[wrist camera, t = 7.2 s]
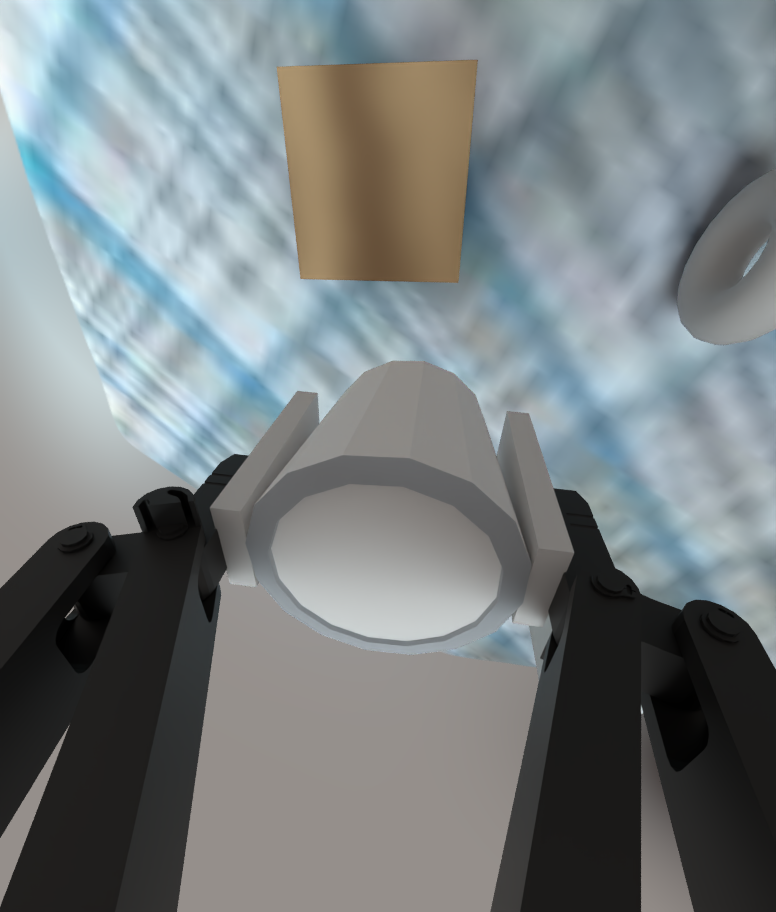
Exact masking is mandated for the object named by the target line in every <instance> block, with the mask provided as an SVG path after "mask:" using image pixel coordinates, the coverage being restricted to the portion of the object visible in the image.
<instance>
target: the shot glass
mask: <svg viewBox="0 0 776 912" xmlns="http://www.w3.org/2000/svg"><path fill="white" fill-rule="evenodd" d="M245 544H246V547H247V550H248V553H249V556H250V559H251V562H252V566H253V569H254V572H255V575H256V578H257V580H258V581H259V583H260V584H261V585H262V586H263V587H264V588H265V589H266V591H267V592H268V593H269V594H270V595H271V596H272V598H273V599H274V600H275V601H276V602H277V603H278V605H279V606H280V607H281V608H282V609H283V610H284V611H285V612H286V613H288V614H290V615H291V616H293V617H294V618H296V619H297V620H299V621H301V622H302V623H304V624H305V625H307V626H309V627H310V628H311V629H313V630H315V631H316V632H318V633H319V634H321V635H323V636H327V637H329V638H332V639H335V640H338V641H341V642H344V643H347V644H350V645H353V646H356V647H359V648H362V649H364V650H372V651H382V652H391V653H400V654H409V655H413V654H421V653H429V652H437V651H445V650H453V649H458V648H460V647H462V646H464V645H467V644H469V643H471V642H474V641H476V640H478V639H480V638H483V637H485V636H487V635H489V634H492V633H494V632H496V631H497V630H498V629H499V628H500V627H501V626H502V625H503V624H504V623H505V621H506V620H507V619H508V618H509V617H510V616H511V615H512V614H513V613H514V612H515V611H516V610H517V609H518V608H519V607H520V606H521V605H522V604H523V601H524V597H525V592H526V588H527V584H528V579H529V575H530V570H531V566H532V564H531V561H530V558H529V554H528V551H527V548H526V545H525V542H524V539H523V536H522V533H521V530H520V527H519V524H518V521H517V518H516V515H515V512H514V509H513V505H512V502H511V499H510V496H509V493H508V490H507V487H506V484H505V481H504V478H503V475H502V472H501V469H500V466H499V463H498V460H497V456H496V453H495V450H494V447H493V444H492V441H491V438H490V435H489V432H488V429H487V426H486V423H485V420H484V417H483V414H482V412H481V409H480V406H479V404H478V401H477V398H476V395H475V394H474V393H473V392H472V391H471V390H470V389H469V388H468V387H467V386H466V385H465V384H464V383H463V382H462V381H461V380H460V379H459V378H458V377H457V376H456V375H455V374H454V373H452V372H449V371H447V370H444V369H442V368H440V367H437V366H435V365H432V364H430V363H427V362H425V361H391V362H389V363H386V364H383V365H381V366H378V367H376V368H373V369H371V370H368V371H366V372H364V373H363V374H362V375H361V376H360V377H359V378H358V379H357V380H356V381H355V382H354V383H353V384H352V385H351V386H350V387H349V388H348V389H347V390H346V391H345V393H344V394H343V395H342V396H341V397H340V399H339V400H338V401H337V402H336V404H335V405H334V406H333V407H332V409H331V410H330V411H329V412H328V414H327V415H326V416H325V417H324V419H323V420H322V421H321V422H320V424H319V425H318V426H317V427H316V429H315V430H314V431H313V432H312V434H311V435H310V436H309V437H308V439H307V440H306V441H305V442H304V444H303V445H302V446H301V447H300V449H299V450H298V451H297V452H296V454H295V455H294V456H293V457H292V459H291V460H290V461H289V462H288V464H287V465H286V466H285V467H284V469H283V470H282V471H281V472H280V474H279V475H278V476H277V477H276V479H275V480H274V481H273V482H272V484H271V485H270V486H269V487H268V489H267V490H266V491H265V492H264V494H263V495H262V496H261V497H260V498H259V500H258V501H257V502H256V503H255V505H254V508H253V512H252V517H251V521H250V525H249V529H248V533H247V538H246V542H245Z"/></svg>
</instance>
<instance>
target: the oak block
mask: <svg viewBox="0 0 776 912" xmlns="http://www.w3.org/2000/svg"><path fill="white" fill-rule="evenodd" d="M477 62H478V60H456V61H428V62H400V63H372V64H344V65H316V66H288V67H277V73H278V82H279V91H280V100H281V109H282V118H283V127H284V136H285V144H286V153H287V162H288V171H289V180H290V189H291V198H292V207H293V215H294V224H295V233H296V242H297V251H298V260H299V269H300V278H301V279H324V280H367V281H409V282H451V283H458V281H459V269H460V258H461V246H462V235H463V223H464V212H465V200H466V189H467V177H468V166H469V154H470V143H471V131H472V120H473V108H474V97H475V85H476V74H477Z"/></svg>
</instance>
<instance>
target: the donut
mask: <svg viewBox="0 0 776 912" xmlns="http://www.w3.org/2000/svg"><path fill="white" fill-rule="evenodd" d="M766 241H768V242H767V245H766V247H765V249H764V250H763V252H762V254H761V256H760V257H759V259H758V261H757V262H756V263H755V265H754V266H753V267H752V268H751V270H750V271H749V272H748V273H747V274H746V275H745V276H744V277H743V275H744V272H745V270H746V268H747V266H748V264H749V263H750V261H751V259H752V258H753V256H754V255H755V254H756V253H757V251H758V250H759V249H760V247H761V246H762V245H763V244H764V243H765V242H766ZM677 306H678V311H679V316H680V321H681V323H682V324H683V325H684V327H685V328H686V329H687V330H688V331H689V332H690V334H691V335H692V336H693V337H694V338H696V339H698V340H701V341H704V342H708V343H712V344H715V345H729V344H734V343H740V342H746V341H750V340H754V339H756V338H758V337H760V336H762V335H764V334H766V333H769V332H771V331H773V330H775V329H776V168H774V169H773V170H771V171H769V172H768V173H766V174H764V175H763V176H761V177H759V178H758V179H756V180H754V181H753V182H751V183H750V184H748V185H747V186H746V187H745V188H744V189H742V190H741V191H740V192H739V193H738V194H737V195H736V196H735V197H733V198H732V199H731V200H730V201H729V202H728V203H727V204H726V205H725V206H724V208H723V209H722V210H721V211H720V212H719V213H718V215H717V216H716V217H715V218H714V219H713V220H712V222H711V223H710V224H709V226H708V227H707V229H706V230H705V232H704V233H703V235H702V236H701V238H700V239H699V241H698V242H697V244H696V245H695V247H694V249H693V251H692V253H691V255H690V257H689V259H688V261H687V263H686V265H685V268H684V271H683V274H682V277H681V280H680V283H679V288H678V297H677Z"/></svg>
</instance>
